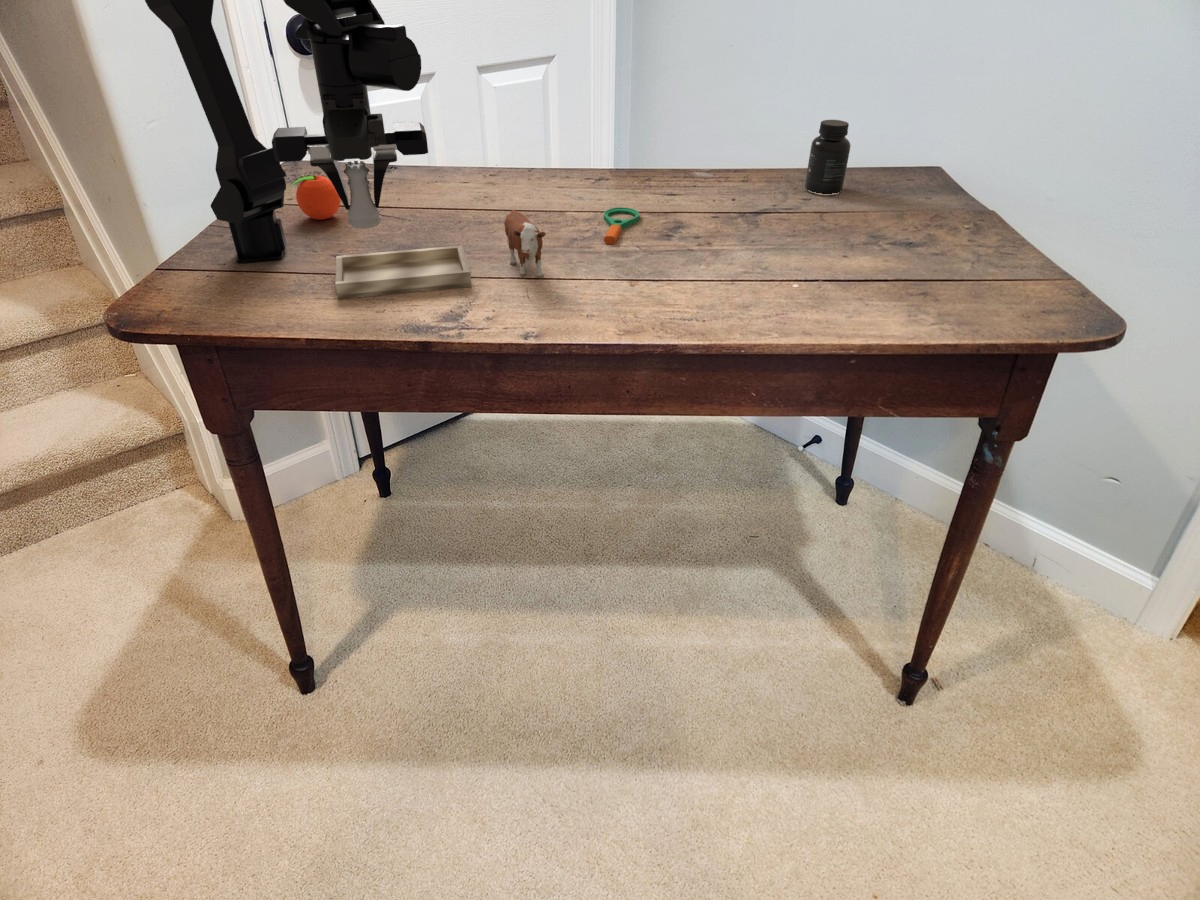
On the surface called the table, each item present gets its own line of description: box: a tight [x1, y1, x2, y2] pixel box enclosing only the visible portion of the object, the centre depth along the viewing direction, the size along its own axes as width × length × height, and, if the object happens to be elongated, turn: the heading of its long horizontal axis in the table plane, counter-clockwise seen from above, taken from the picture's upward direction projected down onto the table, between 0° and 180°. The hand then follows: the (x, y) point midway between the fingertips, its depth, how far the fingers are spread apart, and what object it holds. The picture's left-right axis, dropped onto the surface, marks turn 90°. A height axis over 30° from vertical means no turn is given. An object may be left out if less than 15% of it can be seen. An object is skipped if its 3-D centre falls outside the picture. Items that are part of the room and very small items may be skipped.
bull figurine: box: [503, 209, 547, 279], centre depth 113 cm, size 4×13×8 cm, turn 15°
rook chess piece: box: [343, 160, 382, 230], centre depth 105 cm, size 4×4×8 cm
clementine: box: [288, 174, 342, 221], centre depth 130 cm, size 8×7×7 cm
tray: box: [334, 245, 472, 300], centre depth 112 cm, size 18×10×2 cm, turn 104°
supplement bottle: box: [804, 119, 851, 194], centre depth 143 cm, size 7×7×12 cm
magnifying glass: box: [603, 206, 640, 245], centre depth 130 cm, size 15×6×2 cm, turn 170°
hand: (362, 207), depth 106 cm, fingers closed on rook chess piece, 3 cm apart
